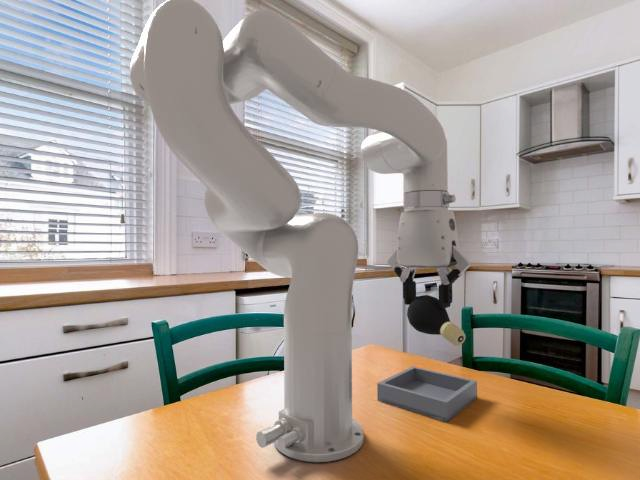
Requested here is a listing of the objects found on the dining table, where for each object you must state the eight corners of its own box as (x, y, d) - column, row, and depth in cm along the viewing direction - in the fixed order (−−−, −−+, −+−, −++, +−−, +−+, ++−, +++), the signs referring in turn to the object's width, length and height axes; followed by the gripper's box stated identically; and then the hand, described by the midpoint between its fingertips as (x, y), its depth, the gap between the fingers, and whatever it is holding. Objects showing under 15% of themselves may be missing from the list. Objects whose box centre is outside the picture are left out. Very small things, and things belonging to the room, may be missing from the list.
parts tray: (446, 422, 58) (446, 402, 58) (377, 400, 67) (377, 383, 67) (477, 397, 68) (477, 380, 68) (412, 381, 76) (412, 366, 76)
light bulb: (469, 311, 59) (423, 282, 70) (437, 339, 58) (394, 305, 69) (483, 339, 62) (436, 307, 72) (452, 366, 61) (409, 329, 72)
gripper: (483, 201, 65) (484, 308, 65) (394, 208, 76) (395, 299, 76) (465, 197, 59) (467, 314, 59) (373, 206, 71) (374, 303, 71)
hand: (427, 304), depth 68 cm, fingers closed on light bulb, 5 cm apart
